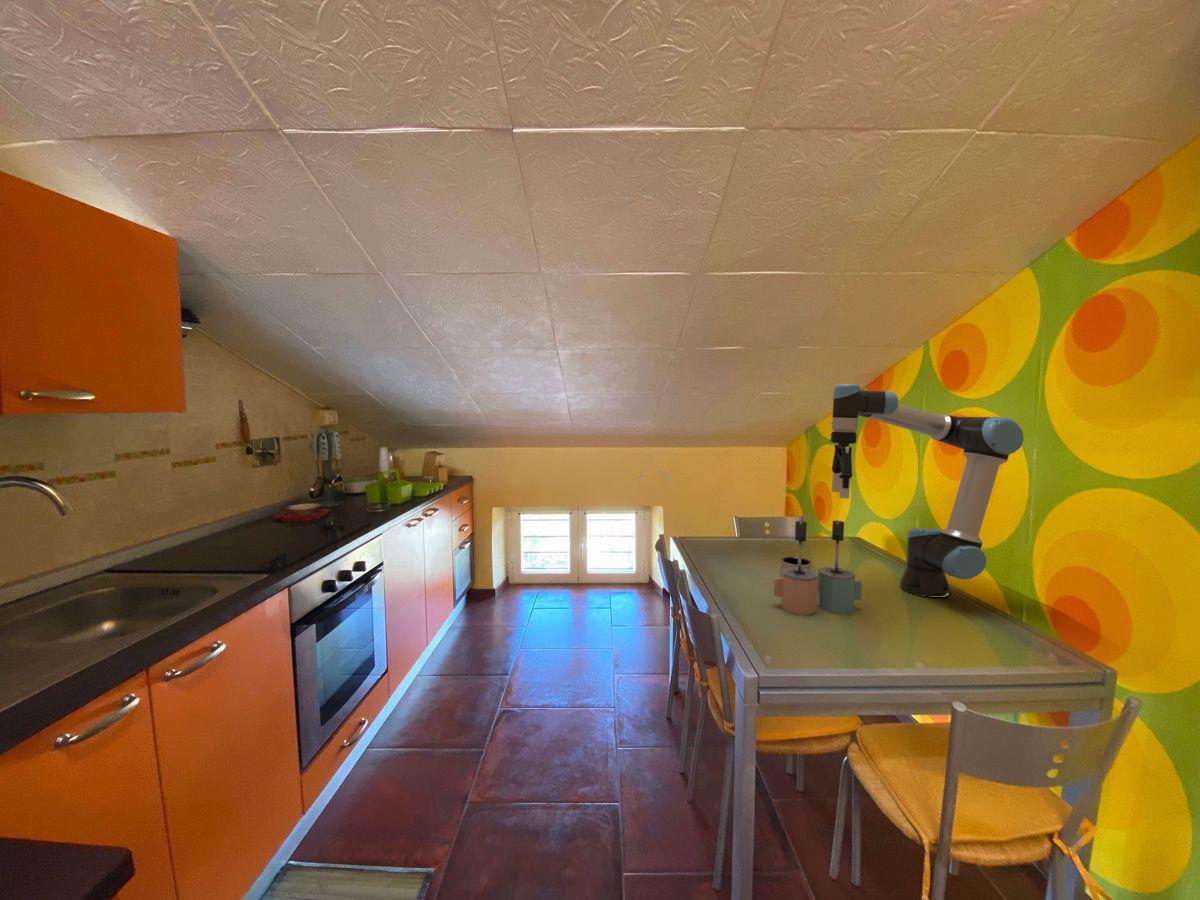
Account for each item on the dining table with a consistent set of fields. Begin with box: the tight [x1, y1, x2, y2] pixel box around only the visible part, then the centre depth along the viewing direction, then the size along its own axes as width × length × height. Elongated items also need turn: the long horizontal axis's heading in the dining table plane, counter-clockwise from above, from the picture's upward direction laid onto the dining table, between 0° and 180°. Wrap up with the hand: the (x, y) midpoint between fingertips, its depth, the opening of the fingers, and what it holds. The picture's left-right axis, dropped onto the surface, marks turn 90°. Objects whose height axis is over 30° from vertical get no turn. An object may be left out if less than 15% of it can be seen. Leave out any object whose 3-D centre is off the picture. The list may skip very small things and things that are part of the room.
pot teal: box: [816, 566, 863, 615], centre depth 158 cm, size 13×10×12 cm
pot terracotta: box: [773, 567, 818, 616], centre depth 158 cm, size 13×10×12 cm
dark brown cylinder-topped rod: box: [831, 520, 845, 574], centre depth 158 cm, size 8×8×20 cm
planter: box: [779, 556, 813, 578], centre depth 179 cm, size 11×11×10 cm
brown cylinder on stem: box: [794, 520, 808, 575], centre depth 157 cm, size 8×8×20 cm
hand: (839, 495), depth 158 cm, fingers open, 13 cm apart
